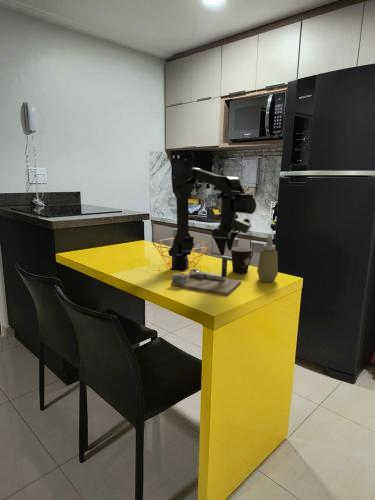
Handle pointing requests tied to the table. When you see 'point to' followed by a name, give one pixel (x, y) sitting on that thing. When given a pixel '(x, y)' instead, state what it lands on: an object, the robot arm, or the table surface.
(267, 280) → the squeeze bottle
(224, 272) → the lever
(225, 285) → the base
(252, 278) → the table surface
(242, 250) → the coffee mug
